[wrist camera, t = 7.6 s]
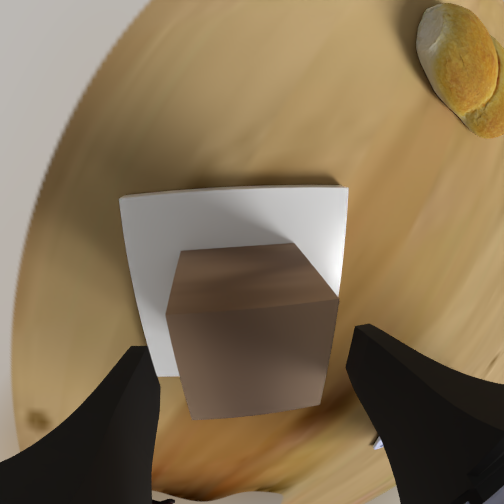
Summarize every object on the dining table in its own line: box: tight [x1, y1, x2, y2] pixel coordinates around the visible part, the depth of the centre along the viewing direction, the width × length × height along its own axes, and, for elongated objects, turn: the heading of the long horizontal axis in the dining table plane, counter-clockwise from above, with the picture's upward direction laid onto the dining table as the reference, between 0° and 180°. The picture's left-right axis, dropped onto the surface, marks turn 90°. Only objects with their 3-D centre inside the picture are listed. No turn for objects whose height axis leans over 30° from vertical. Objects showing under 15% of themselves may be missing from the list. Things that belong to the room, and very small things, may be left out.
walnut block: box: [165, 243, 339, 420], centre depth 11 cm, size 5×5×5 cm
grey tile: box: [119, 185, 348, 377], centre depth 14 cm, size 10×10×1 cm
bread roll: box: [416, 3, 504, 138], centre depth 9 cm, size 8×9×4 cm
